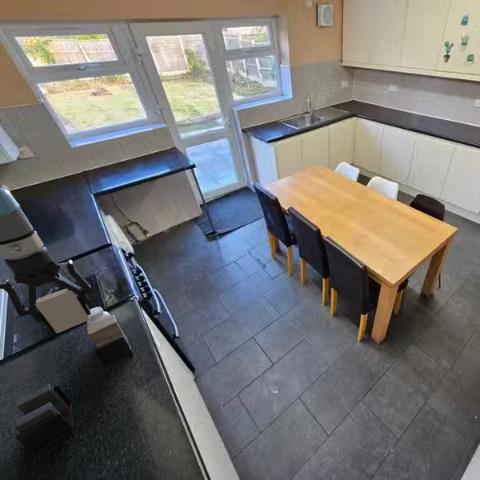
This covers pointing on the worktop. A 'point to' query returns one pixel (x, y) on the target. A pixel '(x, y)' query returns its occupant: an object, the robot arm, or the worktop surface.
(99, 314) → the supplement bottle
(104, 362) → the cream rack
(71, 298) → the cream book
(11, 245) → the robot arm
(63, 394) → the grey rack
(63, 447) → the worktop surface
